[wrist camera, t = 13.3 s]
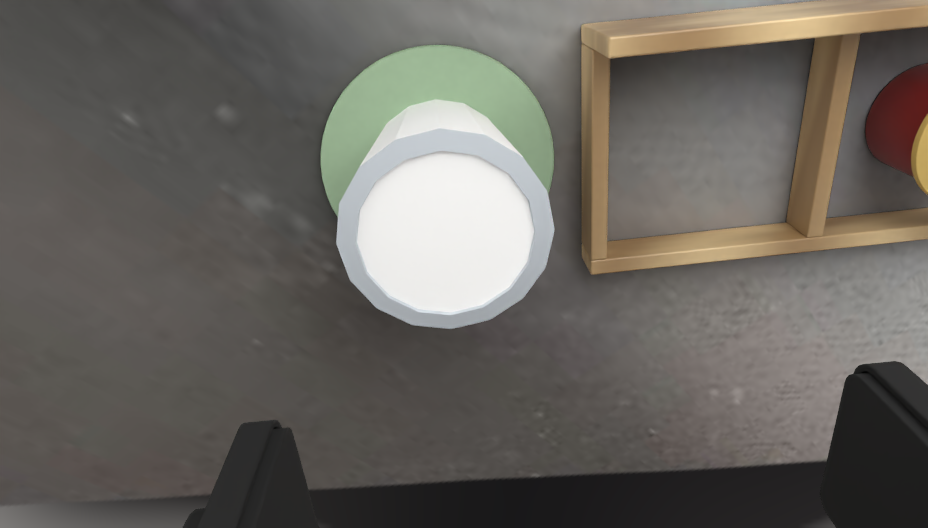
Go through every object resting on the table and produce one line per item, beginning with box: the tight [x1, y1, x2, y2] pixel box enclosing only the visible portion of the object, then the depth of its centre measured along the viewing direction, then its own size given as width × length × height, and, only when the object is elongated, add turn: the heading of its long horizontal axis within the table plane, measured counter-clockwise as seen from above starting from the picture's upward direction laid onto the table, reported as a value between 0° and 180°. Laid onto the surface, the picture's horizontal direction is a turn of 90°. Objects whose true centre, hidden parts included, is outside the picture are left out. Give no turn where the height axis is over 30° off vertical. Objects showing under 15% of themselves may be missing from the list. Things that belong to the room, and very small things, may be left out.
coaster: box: [321, 45, 554, 217], centre depth 26 cm, size 10×10×1 cm
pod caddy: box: [581, 0, 928, 275], centre depth 25 cm, size 19×10×4 cm, turn 95°
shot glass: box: [336, 99, 555, 329], centre depth 23 cm, size 7×7×7 cm
